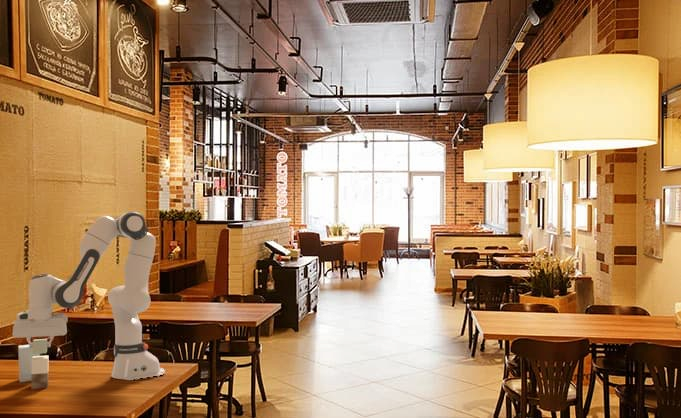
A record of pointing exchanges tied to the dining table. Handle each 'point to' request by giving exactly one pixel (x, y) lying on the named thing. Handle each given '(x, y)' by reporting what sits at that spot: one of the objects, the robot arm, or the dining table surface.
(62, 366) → the dining table surface
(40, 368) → the block top
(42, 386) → the block bottom
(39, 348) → the block small
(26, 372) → the skincare box
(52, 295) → the robot arm
